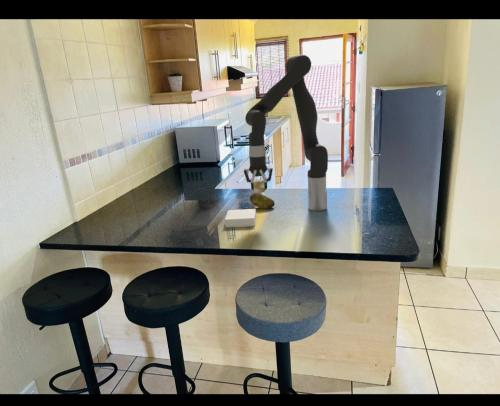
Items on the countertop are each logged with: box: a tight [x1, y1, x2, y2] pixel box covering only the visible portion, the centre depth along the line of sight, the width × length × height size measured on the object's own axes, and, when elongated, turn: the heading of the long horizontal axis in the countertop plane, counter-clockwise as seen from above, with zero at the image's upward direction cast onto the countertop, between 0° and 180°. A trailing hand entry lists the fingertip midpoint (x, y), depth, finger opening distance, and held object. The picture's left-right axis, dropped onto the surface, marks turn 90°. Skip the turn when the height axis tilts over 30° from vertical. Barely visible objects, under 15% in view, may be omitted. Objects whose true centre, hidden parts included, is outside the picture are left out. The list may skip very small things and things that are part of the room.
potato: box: [249, 192, 276, 210], centre depth 201 cm, size 8×13×8 cm, turn 53°
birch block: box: [253, 178, 266, 194], centre depth 178 cm, size 5×5×5 cm
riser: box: [224, 208, 257, 228], centre depth 185 cm, size 14×13×4 cm
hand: (259, 189), depth 179 cm, fingers closed on birch block, 5 cm apart
